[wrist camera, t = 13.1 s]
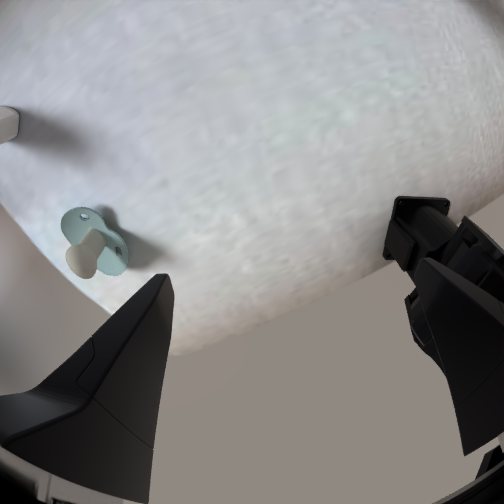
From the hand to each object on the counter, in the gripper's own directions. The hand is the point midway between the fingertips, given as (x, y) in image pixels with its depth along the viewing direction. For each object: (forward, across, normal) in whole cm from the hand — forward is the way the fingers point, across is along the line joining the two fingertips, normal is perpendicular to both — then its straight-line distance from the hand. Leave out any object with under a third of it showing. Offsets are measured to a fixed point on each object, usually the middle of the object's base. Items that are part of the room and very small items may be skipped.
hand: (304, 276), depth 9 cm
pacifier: (+13, +16, +6) cm, 22 cm away
